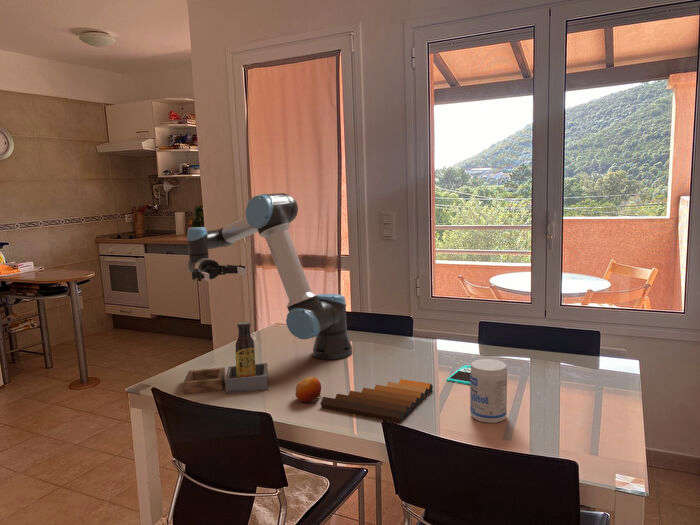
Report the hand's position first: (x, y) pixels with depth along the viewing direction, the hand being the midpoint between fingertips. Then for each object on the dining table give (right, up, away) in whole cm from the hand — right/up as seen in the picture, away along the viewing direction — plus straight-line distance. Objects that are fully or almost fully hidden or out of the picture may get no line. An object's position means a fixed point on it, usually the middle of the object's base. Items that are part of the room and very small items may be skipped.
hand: (227, 275), depth 189 cm
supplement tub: (+81, -37, -45) cm, 100 cm away
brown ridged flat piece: (+52, -37, -30) cm, 71 cm away
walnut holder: (-4, -36, -12) cm, 39 cm away
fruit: (+31, -37, -28) cm, 56 cm away
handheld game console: (+83, -33, -15) cm, 91 cm away
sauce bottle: (+10, -35, -13) cm, 39 cm away
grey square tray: (+10, -36, -13) cm, 39 cm away
